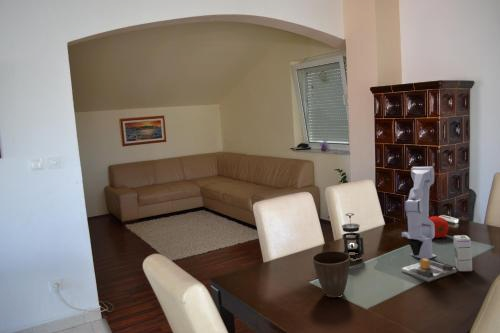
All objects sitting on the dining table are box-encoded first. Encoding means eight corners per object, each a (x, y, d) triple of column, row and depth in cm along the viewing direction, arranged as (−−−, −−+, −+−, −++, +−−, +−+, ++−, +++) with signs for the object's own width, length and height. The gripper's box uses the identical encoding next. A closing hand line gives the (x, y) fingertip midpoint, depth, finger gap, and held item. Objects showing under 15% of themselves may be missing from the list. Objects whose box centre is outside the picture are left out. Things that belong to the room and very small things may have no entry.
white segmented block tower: (472, 271, 178) (471, 238, 177) (458, 271, 179) (456, 239, 178) (468, 266, 184) (467, 234, 182) (454, 266, 185) (452, 235, 183)
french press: (338, 258, 210) (335, 214, 207) (350, 253, 215) (347, 210, 213) (357, 263, 200) (353, 217, 198) (369, 258, 206) (366, 213, 203)
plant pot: (345, 305, 159) (342, 265, 157) (310, 299, 167) (306, 261, 165) (357, 289, 171) (354, 252, 170) (323, 285, 179) (320, 249, 178)
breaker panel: (401, 271, 186) (401, 265, 185) (428, 262, 193) (428, 256, 192) (428, 281, 172) (428, 274, 172) (456, 271, 179) (456, 265, 179)
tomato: (428, 238, 235) (438, 246, 222) (415, 222, 234) (424, 228, 221) (447, 225, 234) (457, 232, 220) (433, 208, 233) (443, 214, 219)
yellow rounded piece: (420, 267, 184) (419, 259, 184) (424, 265, 185) (424, 258, 185) (425, 269, 181) (425, 261, 181) (429, 267, 182) (429, 260, 182)
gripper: (396, 224, 190) (397, 252, 192) (421, 230, 177) (422, 261, 179) (407, 221, 193) (409, 249, 195) (432, 227, 180) (434, 257, 181)
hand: (416, 255), depth 187 cm, fingers closed
